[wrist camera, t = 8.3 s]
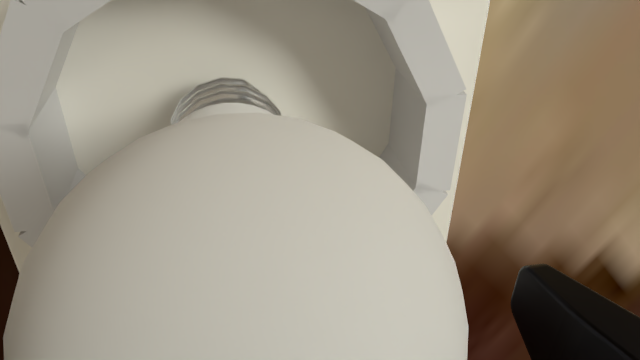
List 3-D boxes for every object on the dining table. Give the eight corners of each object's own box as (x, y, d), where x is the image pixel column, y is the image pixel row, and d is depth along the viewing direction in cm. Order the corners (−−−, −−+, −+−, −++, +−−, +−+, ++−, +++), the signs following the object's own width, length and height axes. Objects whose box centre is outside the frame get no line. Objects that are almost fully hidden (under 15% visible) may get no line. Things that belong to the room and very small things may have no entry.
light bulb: (199, -68, 12) (208, 194, 3) (388, 98, 15) (672, 470, 6) (48, 137, 14) (-234, 687, 5) (245, 247, 17) (299, 701, 8)
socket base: (492, -178, 13) (588, -185, 10) (426, 249, 21) (468, 325, 18) (-126, -192, 11) (-267, -207, 8) (50, 292, 19) (17, 389, 15)
